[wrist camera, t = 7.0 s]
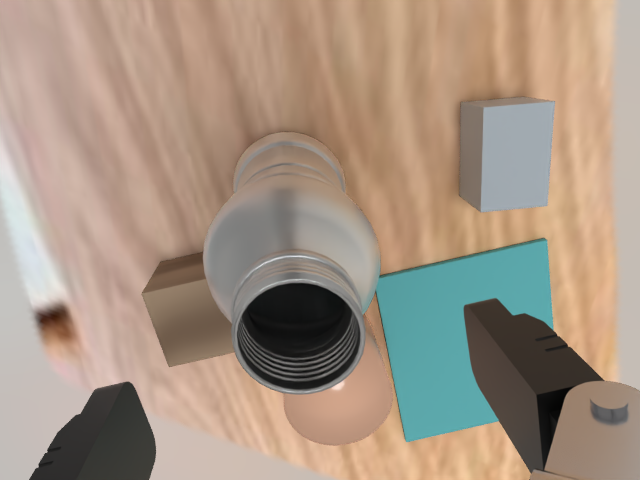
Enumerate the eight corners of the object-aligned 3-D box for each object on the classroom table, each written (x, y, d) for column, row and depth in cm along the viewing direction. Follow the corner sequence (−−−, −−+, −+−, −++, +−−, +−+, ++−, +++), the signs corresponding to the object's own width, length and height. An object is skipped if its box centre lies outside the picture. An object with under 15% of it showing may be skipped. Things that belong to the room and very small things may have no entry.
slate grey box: (459, 101, 32) (483, 107, 28) (522, 96, 32) (554, 101, 29) (458, 195, 34) (480, 212, 30) (518, 190, 34) (547, 206, 31)
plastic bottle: (299, 247, 34) (322, 475, 15) (215, 185, 33) (124, 358, 14) (362, 171, 33) (471, 321, 14) (277, 103, 31) (272, 169, 12)
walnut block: (160, 261, 34) (141, 293, 29) (234, 244, 34) (227, 274, 29) (183, 326, 36) (168, 367, 31) (254, 310, 36) (250, 348, 31)
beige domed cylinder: (273, 310, 36) (271, 367, 29) (363, 289, 36) (382, 342, 29) (294, 386, 38) (297, 455, 31) (379, 367, 38) (400, 432, 31)
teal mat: (373, 277, 35) (374, 279, 35) (544, 238, 35) (547, 240, 35) (405, 438, 40) (406, 442, 40) (556, 404, 40) (558, 407, 40)
